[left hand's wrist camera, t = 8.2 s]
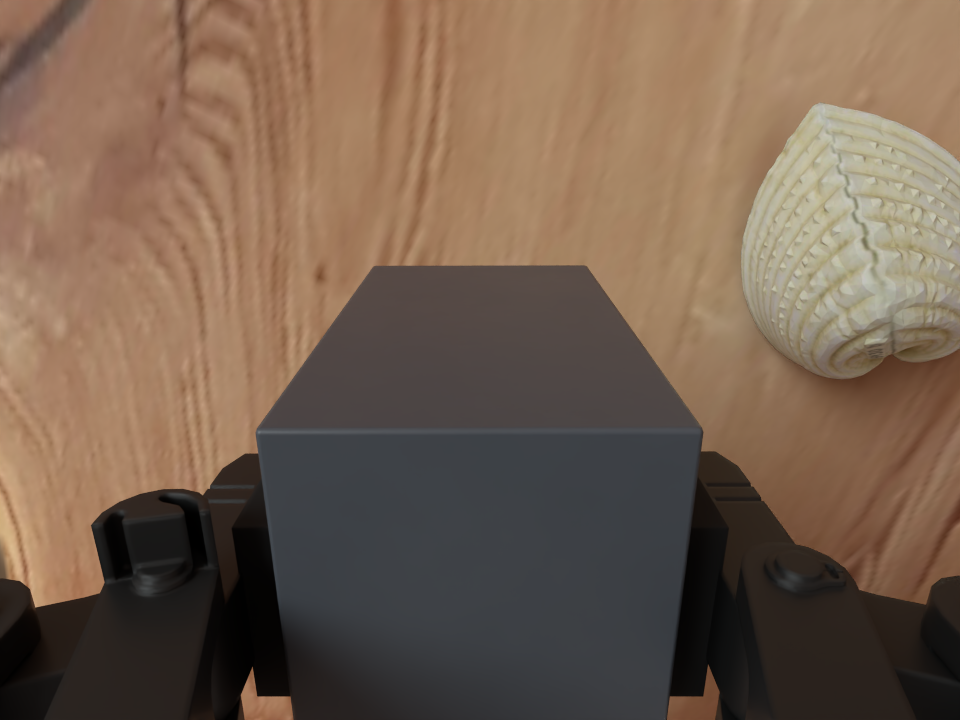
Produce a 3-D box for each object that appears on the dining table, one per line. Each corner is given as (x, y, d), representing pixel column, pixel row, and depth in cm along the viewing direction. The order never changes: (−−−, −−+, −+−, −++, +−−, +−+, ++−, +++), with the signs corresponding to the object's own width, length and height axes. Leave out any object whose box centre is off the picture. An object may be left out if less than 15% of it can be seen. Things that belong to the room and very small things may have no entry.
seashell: (777, 438, 25) (727, 330, 20) (750, 267, 30) (702, 138, 24) (1044, 403, 21) (1077, 255, 16) (967, 212, 26) (971, 43, 20)
